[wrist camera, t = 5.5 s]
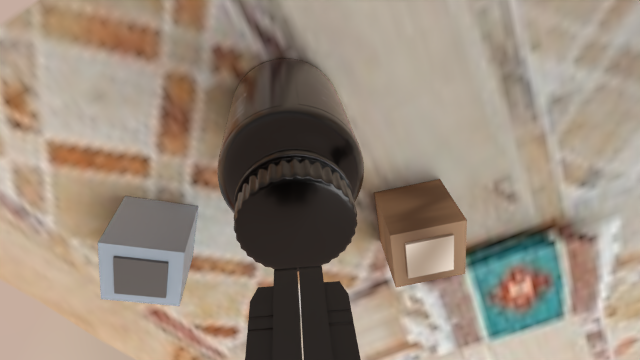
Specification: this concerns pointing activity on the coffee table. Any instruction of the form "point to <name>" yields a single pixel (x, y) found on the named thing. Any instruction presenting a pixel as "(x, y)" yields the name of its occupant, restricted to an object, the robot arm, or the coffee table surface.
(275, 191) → the supplement bottle
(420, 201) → the walnut block
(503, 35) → the coffee table surface
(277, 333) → the robot arm
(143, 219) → the slate-blue block
